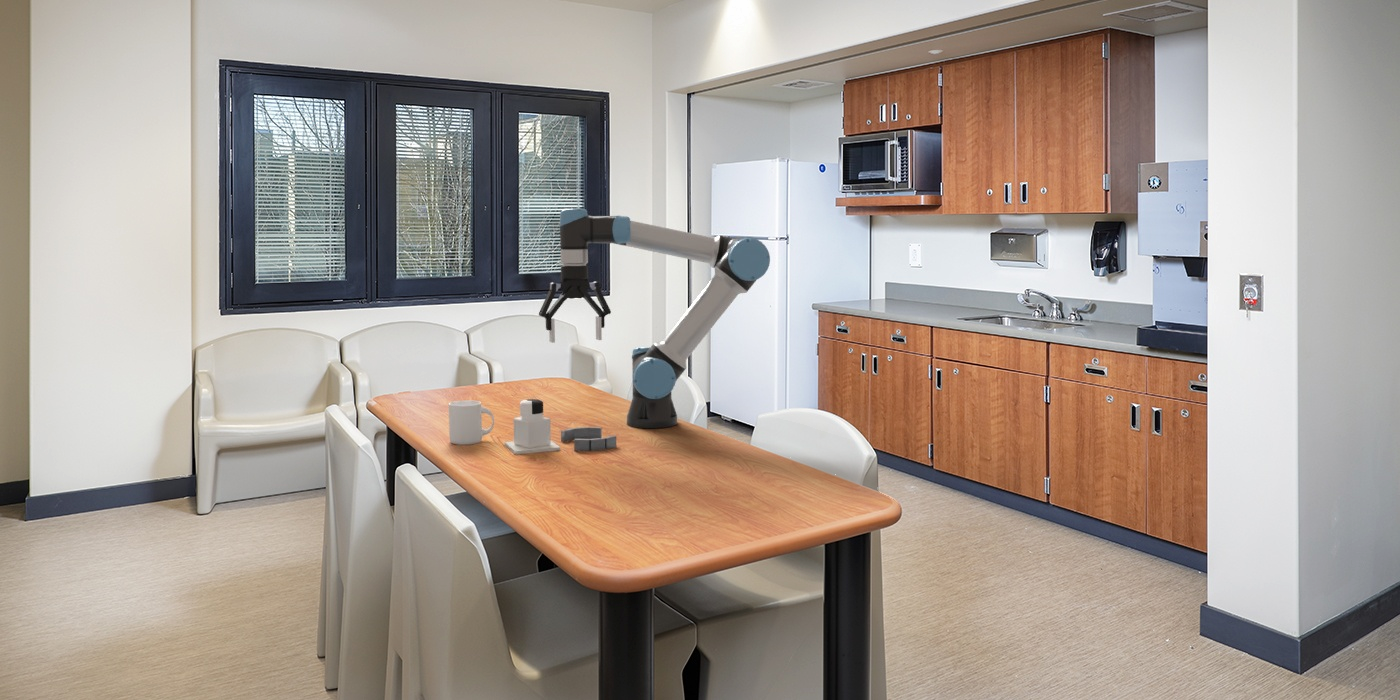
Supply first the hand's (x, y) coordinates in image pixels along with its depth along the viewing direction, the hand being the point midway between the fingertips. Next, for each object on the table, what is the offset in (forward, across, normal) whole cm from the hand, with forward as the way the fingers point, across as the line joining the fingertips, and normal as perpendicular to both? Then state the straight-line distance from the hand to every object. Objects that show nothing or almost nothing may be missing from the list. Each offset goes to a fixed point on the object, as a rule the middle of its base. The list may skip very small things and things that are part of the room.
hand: (575, 341), depth 270 cm
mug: (+27, +29, -3) cm, 40 cm away
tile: (+26, +16, +12) cm, 33 cm away
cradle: (+27, +1, +14) cm, 30 cm away
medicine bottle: (+26, +16, +12) cm, 33 cm away
